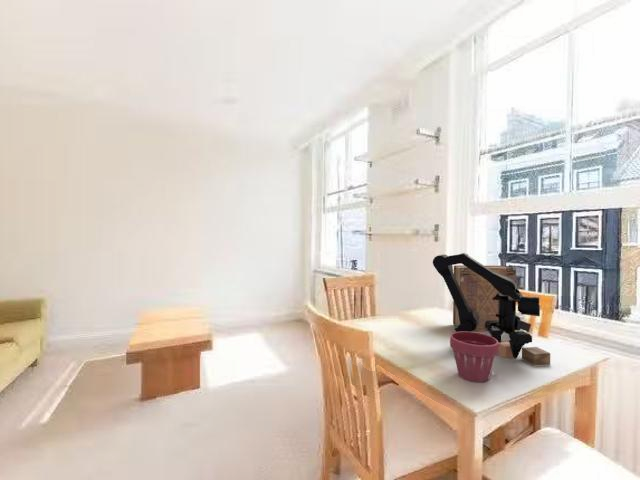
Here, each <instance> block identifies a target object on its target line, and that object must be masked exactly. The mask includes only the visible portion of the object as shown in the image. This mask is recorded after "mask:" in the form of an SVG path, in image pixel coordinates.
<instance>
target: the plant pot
mask: <svg viewBox="0 0 640 480" xmlns="http://www.w3.org/2000/svg"><path fill="white" fill-rule="evenodd" d="M449 336H450V337H449V338H450V340H449V346H450V348H451V349H452V350H453V356H454V359H455V361H454V362H455V365H456V369H457V375H458V376H459V377H461V378H462V379H463V380H465V381H468V382H471V383H472V382H473V383H486V382H488V381H489V379H490V375H491V372H492V369H493V364H494V361H495V357H496V356H498V355H499V354H498V350H499V342H498V340H497V339H495V338H494V337H492V336H491V335H490V334H486V333H481V332H479V331H472V332H470V331H459V332H455V331H454V332H452V333H450V335H449Z"/></svg>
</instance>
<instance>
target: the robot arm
mask: <svg viewBox="0 0 640 480" xmlns="http://www.w3.org/2000/svg"><path fill="white" fill-rule="evenodd" d="M460 264H461V265H463V266H466V267H468V268H469V269H471V270H472V271H474V272H475V273H477V274H478V275H480V276H481V277H483V278H484V279H486V280H487V281H489V282H490V283H491V284H492V286H493V287H494V288H495V289H496V290H497V291H499V292H500V293H501V294H502V295H500V294H499V293H497V295H496V296H494V297H493V300H498V314H496V317H498V320H488V321H486V322H485V328H487V331H486V332H488V335H489V336H492V337H494V338H495V339H497V340H498V342H499V343H502V340H501V339H502V334H503V333H504V332H505V333H507V334H509V338H510V340H509V343H510V347H511V351H512V354H513V357H512V358H513V359H517V358H518V357H519V354H520V353H521V351H522V348H524V345H526V344H529V343H533V336H532V334H530V330H531V326H532V324H531V323H529V322H526V321H525V320H524V321H521V320H520V317H519V316H516V313H517V312H518V313H521V314H523V315H524V316H533V317H534V316H535V317H541V316H540V315H541V305H540V297H539V296H527V295H526V296H525V295H523V294H522V292H520V290H519V289H518V287H517V282H515V281H514V280H512V279H510V278H508V277H505V276H503V275H500V274H497V273H495V272H493V271H492V270H490V269H489V268H487V267H485V266H486V265H484V264H483V263H481V262H479V261H478V260H476V259H474V258H473V257H471V256H470V255H469V254H467V253H465V252H464V253H463V252H462V253H459V254H453V255H447V254H439V255H435V256H434V258H433V259H432V266H433V267H434V268H435V270H436V271H437V273H439V275H440V276H441V277H442V278H443V281H444V282H445V285H446V287H447V289H448V291H449V293H450V295H451V298H452V301H453V300H454V302H455V305H456V307H457V309H458V315H459V321H460V324H459V325H458V326H456V327H455V328H454V332H459V331H470V332H475V331H474V330H475V329H476V328H477V326H478V325H479V318H480V317H479V316H478V315H477V312H476V309H473V310H472V309H471V308H470V307H469V306H468V304H467V302H466V300H465V298H464V295H463V293H462V291H461V289H460V287H459V285H458V282H457V280H456V278H455V276H454V266H455V265H460ZM503 295H505V296H503ZM509 296H510V297H511V298H509ZM520 329H522V330H524V331H518V330H520ZM515 330H517V331H516V332H515Z"/></svg>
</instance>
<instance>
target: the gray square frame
mask: <svg viewBox="0 0 640 480" xmlns="http://www.w3.org/2000/svg"><path fill="white" fill-rule="evenodd" d="M520 359H521V360H522V361H525V360H524V359H522V357H521V358H520ZM525 362H526V363H529V362H527V361H525ZM529 364H531V363H529ZM531 365H532V366H535V367H537V366H538V367H539V366H541V365H533V364H531ZM549 366H552V364H551V363H550V365H549Z"/></svg>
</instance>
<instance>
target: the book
mask: <svg viewBox="0 0 640 480" xmlns="http://www.w3.org/2000/svg"><path fill="white" fill-rule="evenodd" d="M484 266H485V267H487V268H489V269H490V270H492V271H493V272H495V273H497V274H500V275H503V276H505V277H508V278H510V279H512V280H514V281H515V282H516V281H517V268H516V267H512V266H508V265H484ZM453 274H454V276H455V278H456V280H457V282H458V285H459V287H460V289H461V291H462V293H463V295H464V298H465V300H466V302H467V304H468V306H469V307H470V308H471V309H472V310H473V309H476V312H477V315H478V316H479V317H480V318H479V325H478V326H477V328H476V329H475V330H474V331H473V332H488V331H487V328H485V322H486V321H488V320H498V317H496V314H498V300H493V297H494V296H496V295H497V293H499V294H500V295H502V294H501V293H500V292H499V291H497V290H496V289H495V288H494V287H493V286H492V284H491V283H490V282H489V281H487V280H486V279H484V278H483V277H481V276H480V275H478V274H477V273H475V272H474V271H472V270H471V269H469V268H468V267H466V266H465V265H463V264H461V265H460V264H455V265H453ZM516 283H517V282H516ZM503 296H505V295H503ZM509 298H511V297H510V296H509ZM452 303H453V305H452V325H453V326H456V327H457V326H458V325H459V324H460V321H459V315H458V309H457V307H456V305H455V302H454V300H453V299H452Z"/></svg>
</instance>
